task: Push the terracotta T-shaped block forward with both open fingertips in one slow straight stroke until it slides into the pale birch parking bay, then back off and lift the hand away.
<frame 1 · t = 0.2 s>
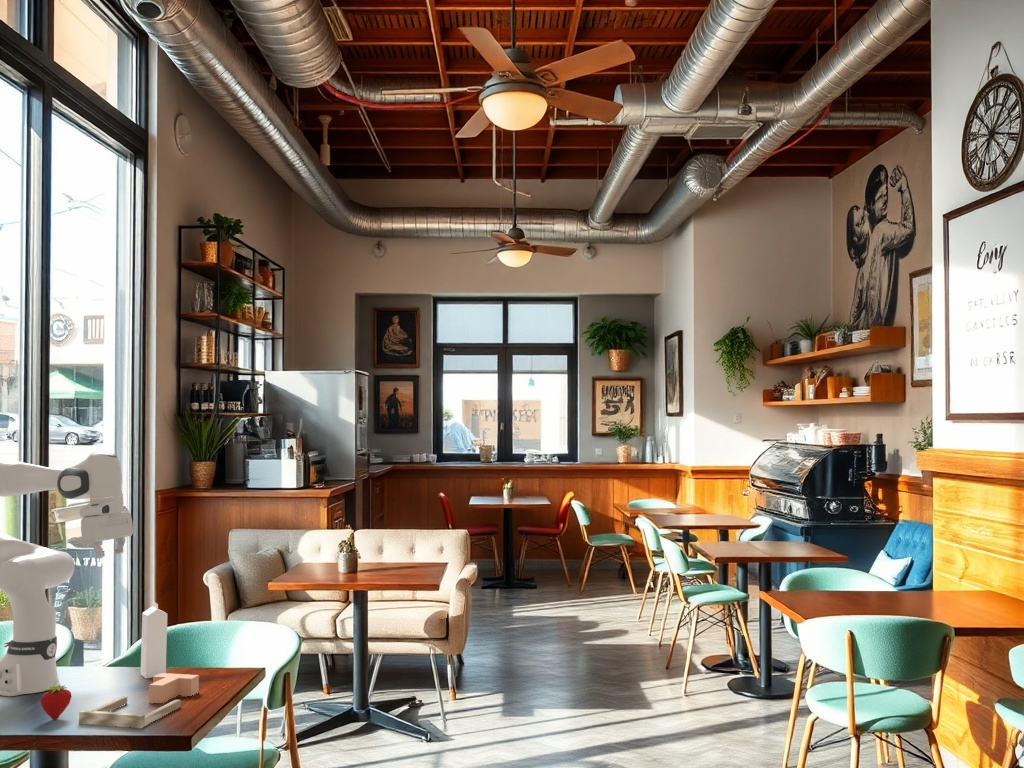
hand: (110, 555, 259), 39 cm above the table, tool pointing down, fingers open, 8 cm apart
strawberry: (55, 720, 231), on the table
T block: (167, 697, 251), on the table
milk: (153, 675, 275), on the table
parking bay: (133, 714, 236), on the table
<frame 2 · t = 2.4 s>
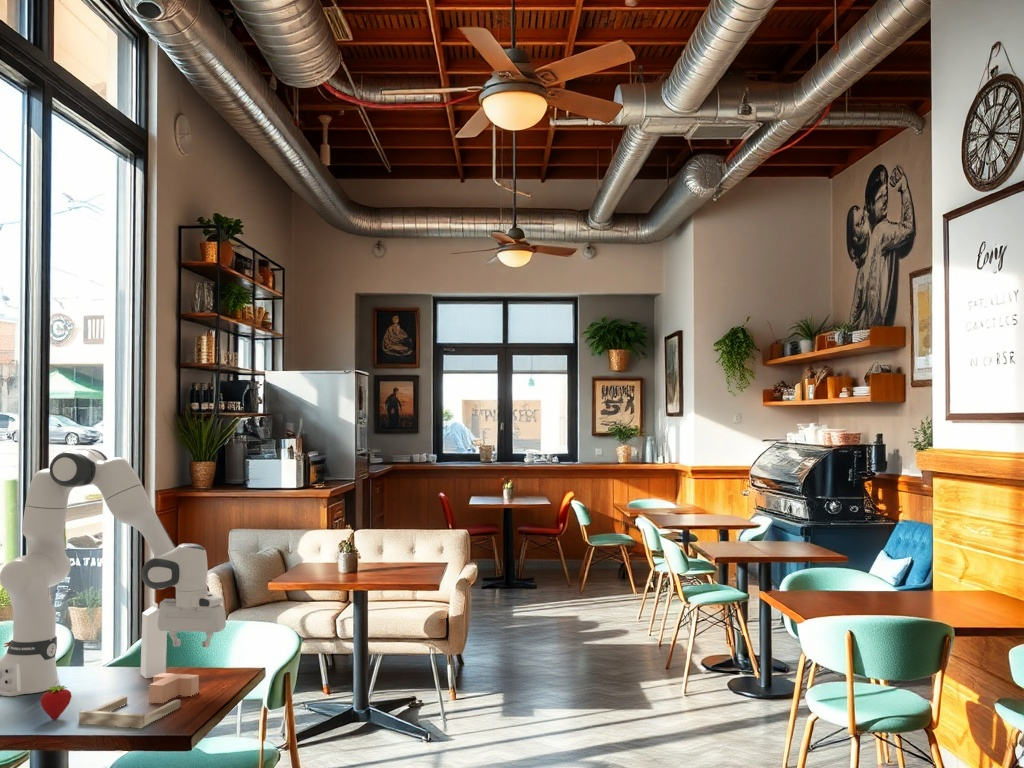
hand: (191, 646, 263), 12 cm above the table, tool pointing down, fingers open, 8 cm apart
nothing on the table moved.
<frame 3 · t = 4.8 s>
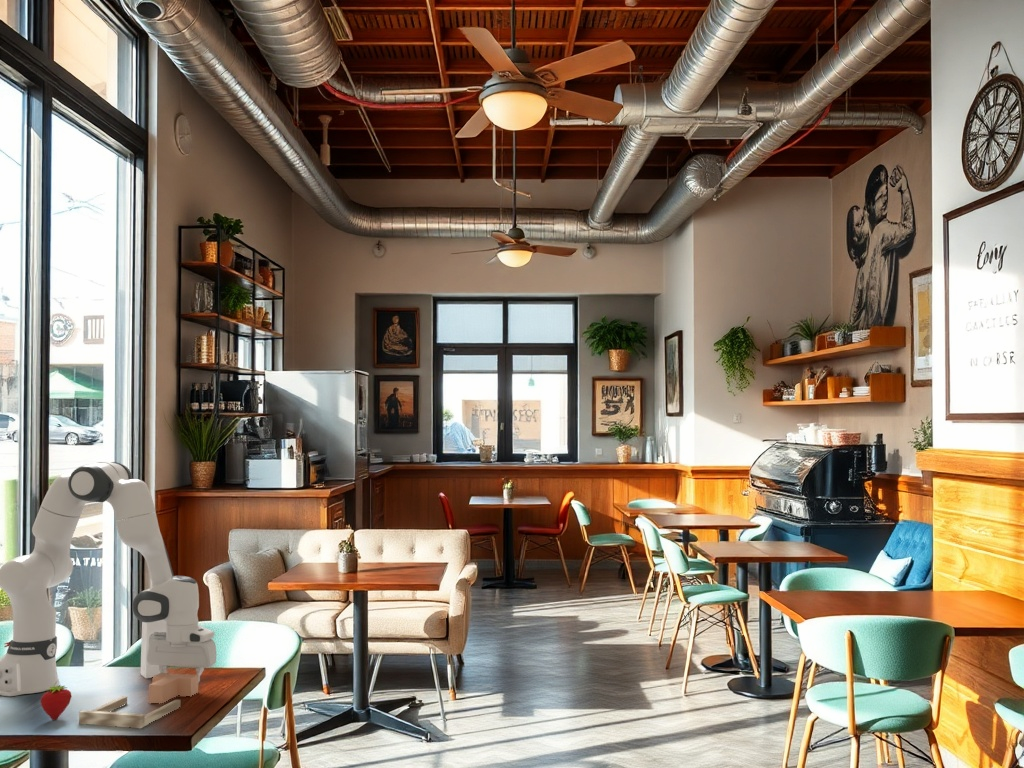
hand: (180, 681, 258), 3 cm above the table, tool pointing down, fingers open, 8 cm apart
T block: (167, 697, 251), on the table, touching gripper
everything else where it was.
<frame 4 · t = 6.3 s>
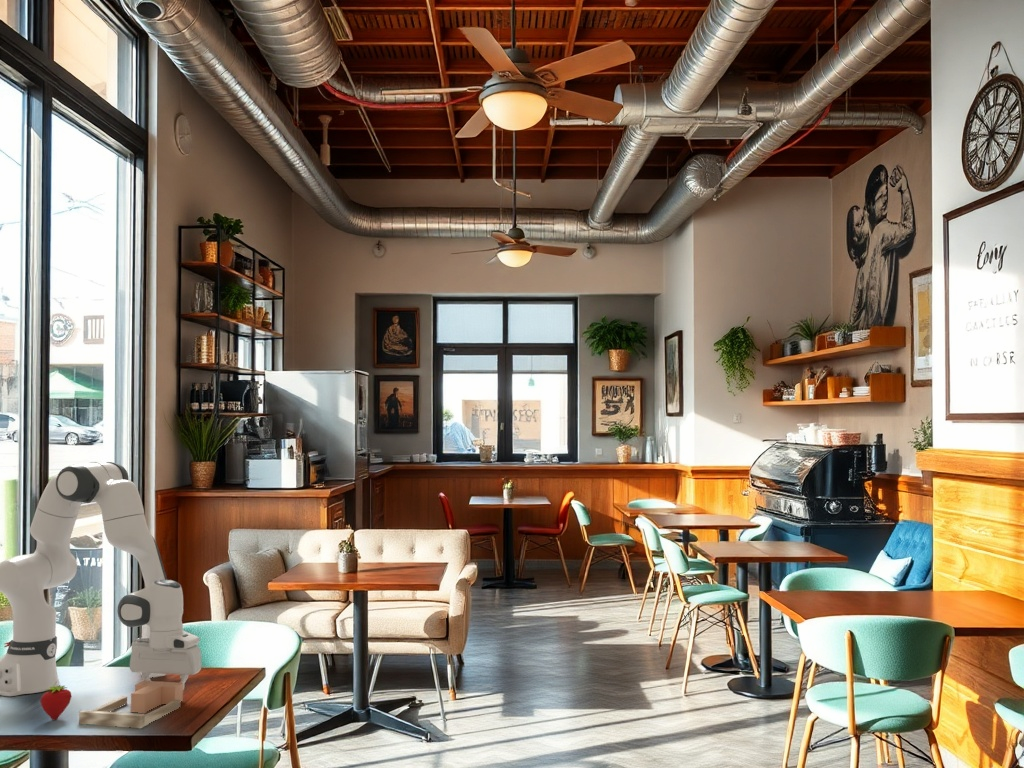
hand: (164, 689, 250), 3 cm above the table, tool pointing down, fingers open, 8 cm apart
T block: (150, 706, 243), on the table, touching gripper
everything else where it was.
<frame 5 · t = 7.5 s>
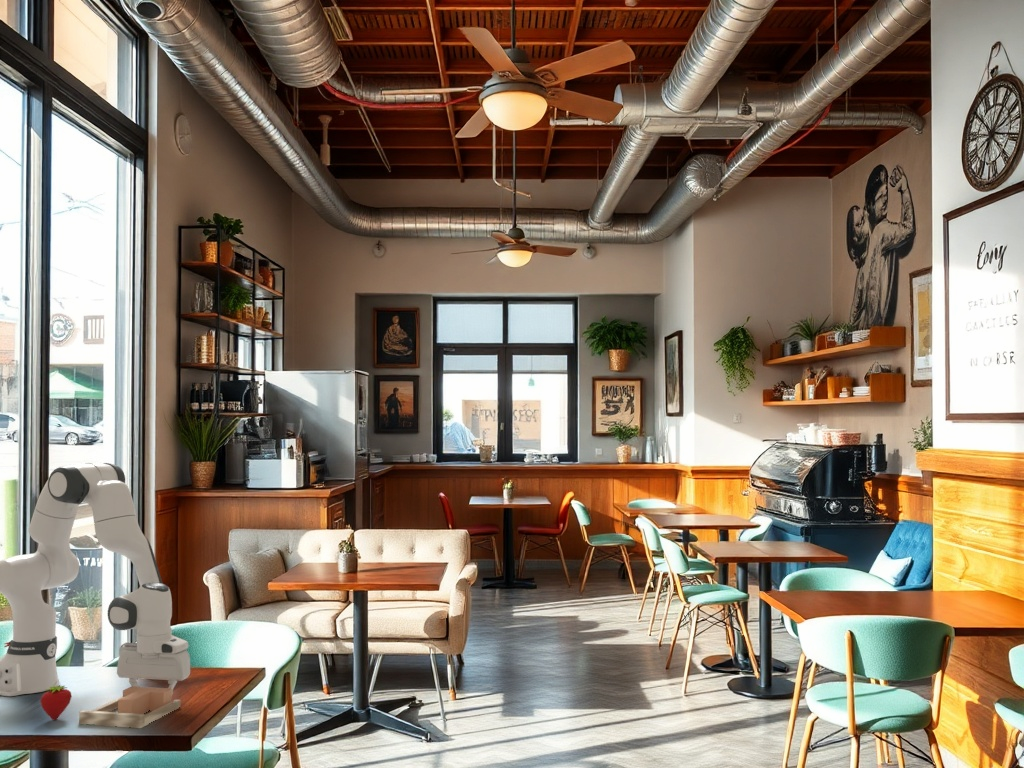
hand: (152, 695, 244), 3 cm above the table, tool pointing down, fingers open, 8 cm apart
T block: (138, 712, 237), on the table, touching gripper
everything else where it was.
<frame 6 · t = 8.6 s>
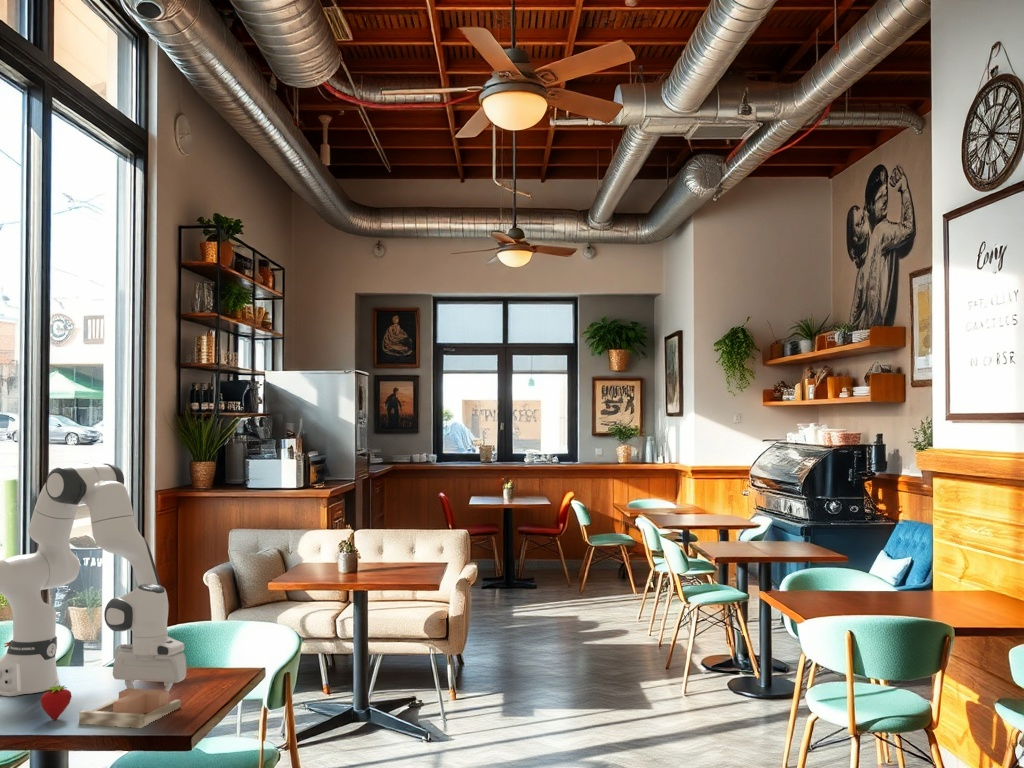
hand: (148, 697, 242), 3 cm above the table, tool pointing down, fingers open, 8 cm apart
T block: (134, 714, 235), on the table, touching gripper
everything else where it was.
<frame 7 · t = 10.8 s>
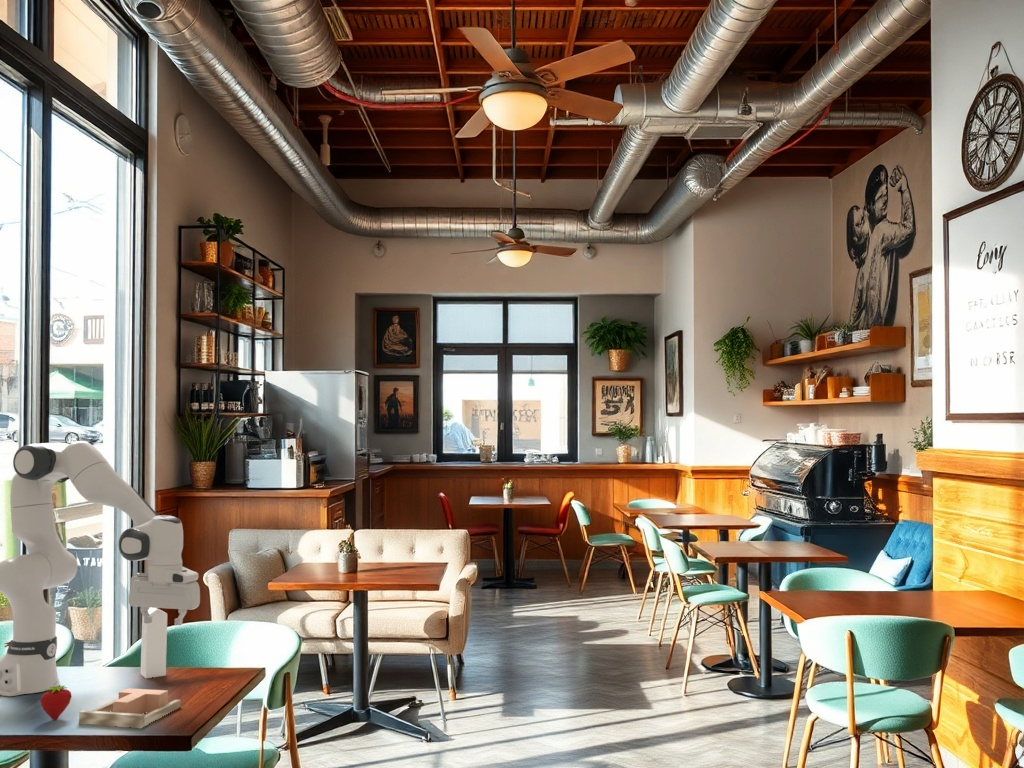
hand: (163, 624, 250), 21 cm above the table, tool pointing down, fingers open, 8 cm apart
T block: (133, 714, 235), on the table
everything else where it was.
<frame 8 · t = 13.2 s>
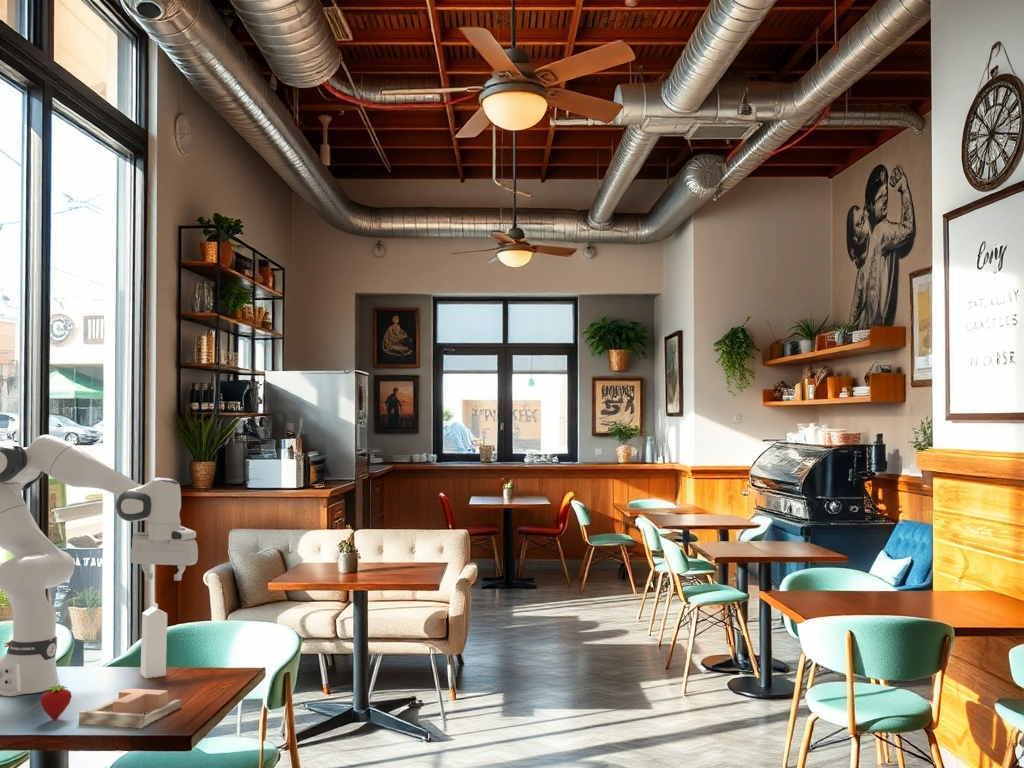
hand: (163, 579, 264), 31 cm above the table, tool pointing down, fingers open, 8 cm apart
nothing on the table moved.
at the end: T block 0.5 cm off-centre on the parking bay, point 0.0 cm above the parking bay's base; T block tilted 0° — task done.
